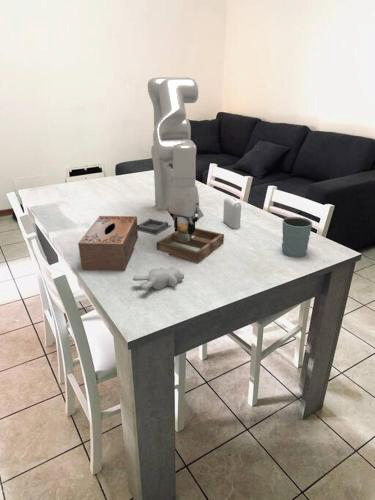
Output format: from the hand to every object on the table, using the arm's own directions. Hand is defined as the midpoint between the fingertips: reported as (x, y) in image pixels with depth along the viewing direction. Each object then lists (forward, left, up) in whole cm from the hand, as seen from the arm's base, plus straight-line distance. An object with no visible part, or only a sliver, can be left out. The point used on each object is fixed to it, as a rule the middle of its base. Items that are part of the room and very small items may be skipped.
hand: (184, 231), depth 130 cm
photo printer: (-34, +3, -8) cm, 35 cm away
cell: (0, 0, -3) cm, 3 cm away
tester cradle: (-12, -23, -8) cm, 27 cm away
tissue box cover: (+14, -22, -9) cm, 28 cm away
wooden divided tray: (-5, 0, -8) cm, 9 cm away
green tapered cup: (-21, +34, -8) cm, 41 cm away
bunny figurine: (+24, +6, -9) cm, 26 cm away
